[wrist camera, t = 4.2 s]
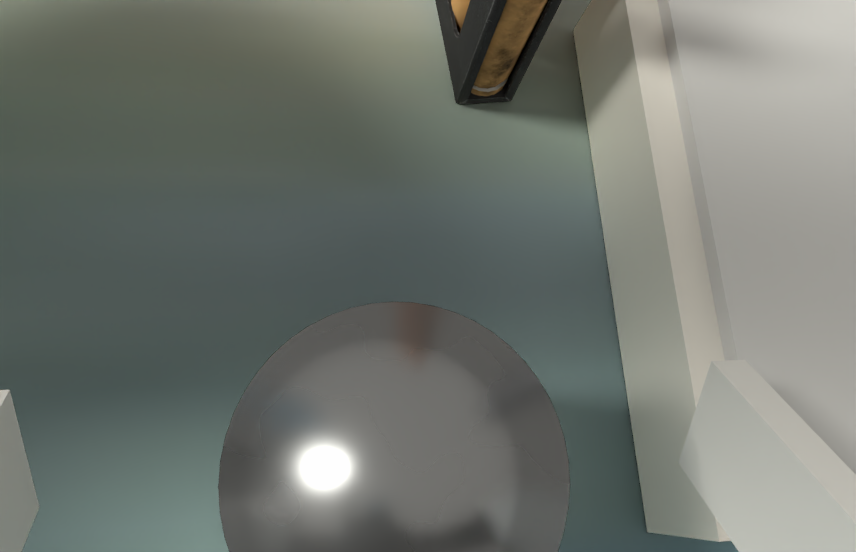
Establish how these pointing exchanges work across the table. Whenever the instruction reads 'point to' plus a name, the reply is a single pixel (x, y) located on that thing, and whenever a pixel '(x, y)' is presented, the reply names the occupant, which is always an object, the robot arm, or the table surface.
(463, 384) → the ball
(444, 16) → the ammunition clip
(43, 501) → the table surface
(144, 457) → the table surface
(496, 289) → the table surface
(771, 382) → the scale
